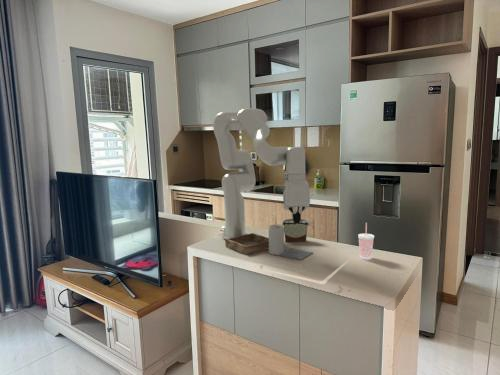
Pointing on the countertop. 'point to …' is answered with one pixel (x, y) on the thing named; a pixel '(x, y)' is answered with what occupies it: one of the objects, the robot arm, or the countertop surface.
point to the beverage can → (276, 239)
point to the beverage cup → (365, 245)
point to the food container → (295, 230)
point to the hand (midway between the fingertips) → (296, 222)
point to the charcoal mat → (296, 254)
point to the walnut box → (237, 246)
